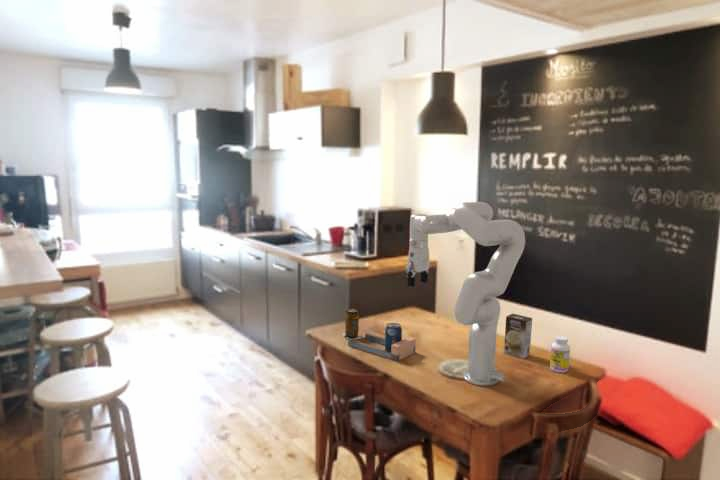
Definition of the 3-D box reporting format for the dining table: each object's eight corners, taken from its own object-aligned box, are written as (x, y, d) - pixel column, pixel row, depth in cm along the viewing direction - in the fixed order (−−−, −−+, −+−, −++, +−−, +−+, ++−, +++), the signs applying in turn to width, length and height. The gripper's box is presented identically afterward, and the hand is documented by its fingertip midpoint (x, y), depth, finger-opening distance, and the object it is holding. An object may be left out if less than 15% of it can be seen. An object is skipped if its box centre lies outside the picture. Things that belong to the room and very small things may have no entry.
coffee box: (502, 353, 210) (504, 316, 207) (510, 349, 214) (512, 313, 212) (523, 359, 203) (526, 320, 201) (530, 354, 208) (532, 317, 206)
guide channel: (415, 352, 210) (415, 346, 209) (397, 361, 200) (397, 355, 199) (367, 338, 226) (367, 333, 226) (348, 346, 216) (348, 340, 216)
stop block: (415, 352, 210) (415, 338, 209) (397, 361, 200) (397, 346, 199) (409, 350, 211) (409, 336, 211) (391, 359, 202) (391, 345, 201)
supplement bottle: (546, 367, 195) (548, 336, 193) (558, 365, 197) (561, 333, 195) (559, 374, 189) (561, 341, 187) (572, 371, 191) (574, 339, 189)
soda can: (395, 357, 204) (396, 328, 202) (381, 353, 208) (382, 325, 206) (404, 352, 210) (405, 324, 208) (390, 348, 214) (391, 321, 212)
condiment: (357, 333, 233) (357, 308, 232) (361, 339, 225) (361, 313, 224) (342, 334, 232) (342, 309, 230) (345, 340, 224) (345, 314, 222)
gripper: (414, 247, 198) (413, 289, 200) (437, 242, 211) (436, 282, 214) (399, 245, 203) (398, 286, 205) (422, 240, 216) (421, 279, 218)
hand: (417, 284), depth 209 cm, fingers open, 9 cm apart
